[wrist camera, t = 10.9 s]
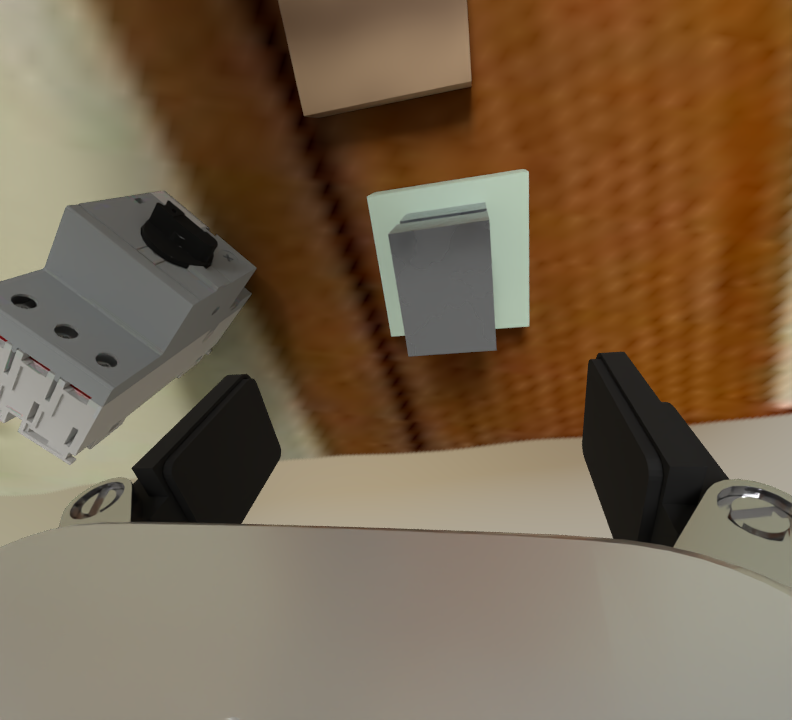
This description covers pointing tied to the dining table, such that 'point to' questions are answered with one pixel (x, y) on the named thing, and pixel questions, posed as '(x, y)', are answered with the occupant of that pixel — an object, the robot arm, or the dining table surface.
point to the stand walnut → (375, 51)
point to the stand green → (507, 236)
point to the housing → (445, 280)
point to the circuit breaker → (112, 317)
